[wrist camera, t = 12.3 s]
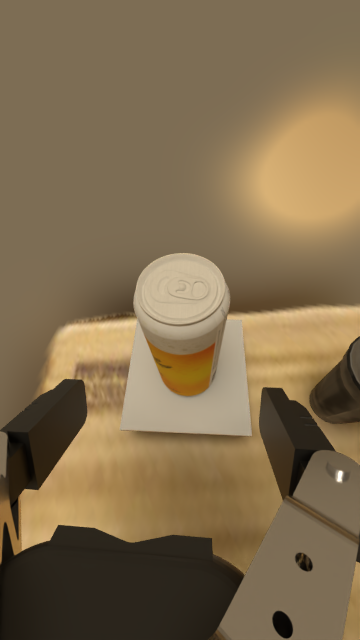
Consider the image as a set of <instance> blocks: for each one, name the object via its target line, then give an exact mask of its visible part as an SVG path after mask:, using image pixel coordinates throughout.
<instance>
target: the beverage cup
mask: <svg viewBox="0 0 360 640" xmlns="http://www.w3.org/2000/svg"><path fill="white" fill-rule="evenodd" d="M310 404H311V407H312V409H313V411H314V412H315V414H316V415H317V416H318V417H320V418H321V419H322V420H324V421H326V422H329V423H352V422H360V336H359V337H358V338H357V339H356V340H355V341H354V342H352V343H351V344H350V347H349V349H348V350H347V352H346V353H345V355H344V357H343V359H342V360H341V361H340V362H339V363H338V364H337V365H336V366H335V367H334V368H333V369H332V370H331V371H330V372H329V373H328V374H327V375H326V376H325V377H324V378H323V379H322V380H321V381H320V382H319V383H318V384H317V385H316V386H315V388H314V389H313V390H312V391H311V394H310Z"/></svg>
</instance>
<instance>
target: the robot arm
mask: <svg viewBox="0 0 360 640" xmlns="http://www.w3.org/2000/svg"><path fill="white" fill-rule="evenodd" d="M86 417H87V403H86V394H85V385H84V382H83V380H76V379H64V380H63V381H62V382H61V383H60V384H59V385H57V386H56V387H55V388H54V389H53V390H50V391H48V392H46V393H44V394H42V395H40V396H39V397H38V398H37V399H36V400H34V401H33V402H32V404H30V405H29V406H28V407H27V408H25V410H24V411H22V412H21V413H20V414H19V415H17V416H16V417H15V418H14V419H13V420H12V421H10V422H9V423H8V424H7V425H6V426H5V427H3V428H2V429H1V430H0V640H342V639H343V633H344V627H345V621H346V616H347V610H348V604H349V598H350V592H351V587H352V581H353V575H354V569H355V563H356V561H357V562H359V563H360V465H359V464H358V463H356V462H355V461H354V460H352V459H351V458H349V457H347V456H345V455H343V454H341V453H338V452H336V451H335V449H334V448H333V446H332V445H331V444H330V442H329V441H328V439H327V438H326V436H325V435H324V433H323V432H322V431H321V429H320V428H319V426H317V423H316V422H315V420H314V419H312V416H311V415H310V413H309V412H308V410H307V409H306V408H305V407H304V406H302V405H301V404H300V403H298V402H297V401H294V400H289V399H288V397H287V395H286V394H285V392H284V391H283V389H282V388H267V387H264V388H263V389H262V395H261V406H260V417H259V426H260V433H261V436H262V439H263V442H264V445H265V448H266V451H267V454H268V457H269V460H270V463H271V466H272V469H273V472H274V475H275V478H276V481H277V484H278V487H279V490H280V493H281V495H282V498H283V502H282V504H281V506H280V508H279V510H278V512H277V514H276V516H275V518H274V520H273V522H272V524H271V526H270V528H269V530H268V531H267V533H266V535H265V537H264V539H263V541H262V543H261V545H260V547H259V549H258V551H257V553H256V555H255V557H254V559H253V561H252V563H251V565H250V567H249V569H248V571H247V572H246V574H245V575H244V574H243V573H242V572H241V571H240V570H238V569H237V568H236V567H234V566H233V565H232V564H230V563H229V562H227V561H226V560H224V559H222V558H220V557H218V556H216V555H213V553H212V538H202V537H190V536H179V535H170V536H165V537H160V538H155V539H150V540H145V541H140V542H135V543H129V542H126V541H123V540H121V539H119V538H116V537H114V536H112V535H109V534H107V533H105V532H103V531H100V530H98V529H96V528H87V527H76V526H64V525H58V527H57V528H56V530H55V532H54V534H53V536H52V538H51V540H50V541H46V542H43V543H40V544H37V545H34V546H32V547H30V548H27V549H25V550H23V551H22V542H21V501H20V496H19V495H20V494H21V493H22V491H23V490H24V489H33V490H39V488H40V487H41V485H42V484H43V483H44V481H45V480H46V478H47V477H48V475H49V474H50V473H51V471H52V470H53V468H54V467H55V465H56V464H57V462H58V461H59V460H60V458H61V457H62V455H63V454H64V452H65V451H66V449H67V448H68V447H69V445H70V444H71V442H72V441H73V439H74V438H75V436H76V435H77V434H78V432H79V431H80V429H81V428H82V426H83V425H84V423H85V421H86Z"/></svg>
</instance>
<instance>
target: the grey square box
mask: <svg viewBox="0 0 360 640" xmlns="http://www.w3.org/2000/svg"><path fill="white" fill-rule="evenodd" d="M120 430H125V431H146V432H167V433H188V434H209V435H230V436H252V430H251V419H250V408H249V397H248V386H247V375H246V364H245V352H244V341H243V330H242V320H226V325H225V330H224V335H223V340H222V345H221V350H220V355H219V360H218V365H217V370H216V374H215V378H214V380H213V382H212V384H211V385H210V386H209V388H207V389H206V390H205V391H204V392H202V393H200V394H198V395H194V396H182V395H178V394H176V393H174V392H172V391H171V390H169V389H168V388H167V387H166V385H165V384H164V382H163V381H162V378H161V376H160V373H159V371H158V368H157V366H156V363H155V361H154V358H153V356H152V353H151V351H150V348H149V346H148V343H147V341H146V338H145V336H144V333H143V331H142V328H141V326H140V323H139V321H138V318H137V324H136V331H135V337H134V343H133V349H132V356H131V362H130V368H129V375H128V381H127V387H126V393H125V400H124V406H123V412H122V419H121V425H120Z"/></svg>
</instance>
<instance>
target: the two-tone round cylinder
mask: <svg viewBox="0 0 360 640" xmlns="http://www.w3.org/2000/svg"><path fill="white" fill-rule="evenodd" d="M133 304H134V310H135V313H136V316H137V318H138V321H139V323H140V326H141V328H142V331H143V333H144V336H145V338H146V341H147V343H148V346H149V348H150V351H151V353H152V356H153V358H154V361H155V363H156V366H157V368H158V371H159V373H160V376H161V378H162V381H163V382H164V384H165V385H166V387H167V388H168V389H169V390H171V391H172V392H174V393H176V394H178V395H182V396H194V395H198V394H200V393H202V392H204V391H205V390H206V389H207V388H209V386H210V385H211V384H212V382H213V380H214V378H215V374H216V370H217V365H218V360H219V355H220V350H221V345H222V340H223V335H224V330H225V325H226V320H227V315H228V310H229V305H230V293H229V289H228V286H227V284H226V283H225V281H224V278H223V275H222V273H221V271H220V270H219V269H218V267H216V265H215V264H213V263H212V262H211V261H209V260H208V259H206V258H203V257H201V256H198V255H194V254H188V253H177V254H171V255H167V256H164V257H161V258H159V259H157V260H155V261H154V262H152V263H151V264H149V265H148V266H147V267H146V268H145V269H144V271H143V272H142V273H141V275H140V276H139V279H138V282H137V286H136V291H135V294H134V303H133Z"/></svg>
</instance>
